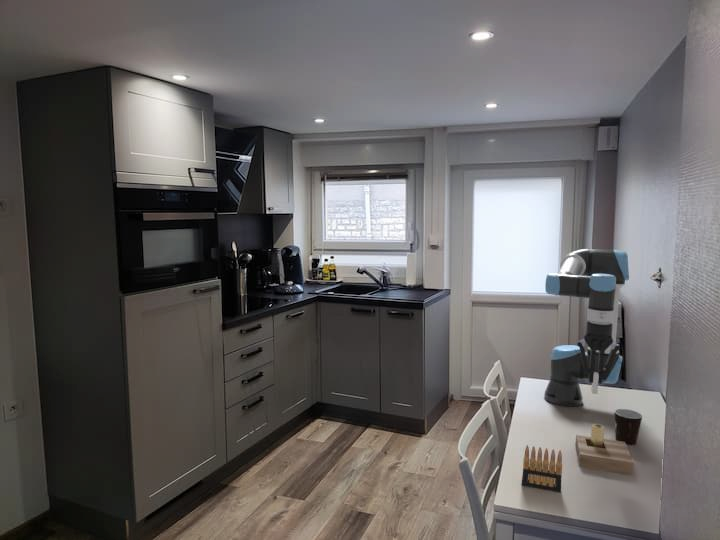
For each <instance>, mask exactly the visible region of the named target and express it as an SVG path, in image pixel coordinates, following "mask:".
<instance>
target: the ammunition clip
mask: <svg viewBox="0 0 720 540" xmlns="http://www.w3.org/2000/svg"><path fill="white" fill-rule="evenodd" d="M529 448H530V447H529V445H528V444H526V446H525V450H524V456H523V463H522V475H521V486H523V487H527V488H534V489H539V490H543V491H544V490H545V491H551V492H555V493H560V494H561V493H562V478H563V477H562V473H563V455H562V451H561V450H559V451H558V453H557V459H556V452H555V449H554V448H553V449H552V450H551V454H550V457H549V449H548V448H547V447H546V448H545V451H544V454H543V451H542V447H541V446H540V447H539V448H538V450H537V452H536V447H535V446H534V445H533V446H532V449H531V453H530V449H529ZM536 453H537V456H536Z"/></svg>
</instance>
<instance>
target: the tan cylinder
mask: <svg viewBox="0 0 720 540" xmlns="http://www.w3.org/2000/svg"><path fill="white" fill-rule="evenodd" d="M590 437H591V440H590V446H591V447H598V448H603V440H604V439H605V438H604V437H605V426H604V425H603V424H600V423H592V424H591V430H590Z"/></svg>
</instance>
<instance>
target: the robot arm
mask: <svg viewBox="0 0 720 540" xmlns="http://www.w3.org/2000/svg"><path fill="white" fill-rule="evenodd" d="M628 256H629V255H628V253H627V252H626V251H625V250H624V251H623V250H619V249H596V248H594V249H593V248H582V249H578V250H574V251H571V252H569V253H567V254H566V255H565V256H564V257H563V258H562V259H561V261H560V263H559V267H560V268H559V269H558V271H557V272H554V273H548V274H547V275H546V279H545V286H544V287H545V293H546V294H547V295H551V296H552V295H553V296H560V297H561V296H563V297H573V298H584V299H588V306H587V315H586V316H587V318H586V320H587V321H586V330H585V332H586V333H585V335H584V336H583V338H582V339H579V340H576V344H577V345H571V344H567V345H565V344H564V345H563V344H562V345H558V346H557V345H556V346H554V348H552V351H551V357H550V372H549V374H550V375H549V381H548V384H547V386H546V388H545V391H544V400H545V401H547V402H549V403H551V404H553V405H554V404H555V405H558V406H562V407H577V406H581V405H582V404H583V400H584V399H583V398H584V397H583V394H582V390H581V386H580V380H584V381H588V383H589V384H591V391H590V392H591V393H592V394H593V395H598V390H599V389H598V388H599V384H602V383H603V384H610V385H611V384H612V385H614V384H616V383H617V382H618V380H619V376H620V372H621V368H622V363H623V356H622V355H620V351H619V350H620V349H621V346H620V344H619V343H616V340H617V330H618V318H619V305H620V303H619V302H620V295H621V293H620V292H621V288H622V287H623V286H625V282H627V281H629V280H630V272H629V258H628ZM586 344H587V346H588V347H587V351H586V350H585V346H586Z"/></svg>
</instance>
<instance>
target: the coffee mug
mask: <svg viewBox="0 0 720 540" xmlns="http://www.w3.org/2000/svg"><path fill="white" fill-rule="evenodd" d="M642 421H643V415H642V414H641V413H640V412H638V411H635V410H633V409H626V408H618V409H614V429H615V441H621V442H625V443H626V445H627V446H635V445H636V444H637V442H638V437H639V432H640V429H641V424H642Z"/></svg>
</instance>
